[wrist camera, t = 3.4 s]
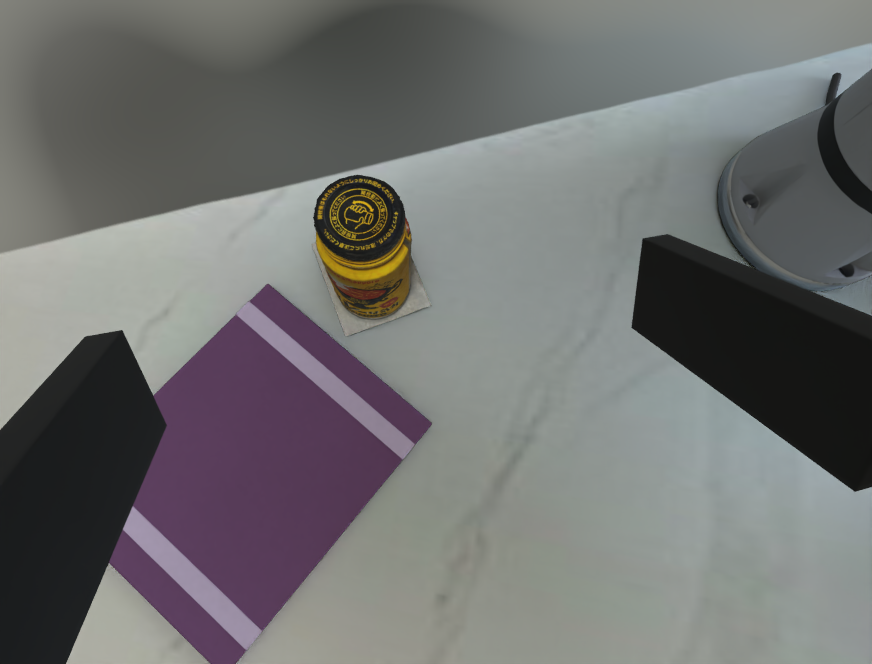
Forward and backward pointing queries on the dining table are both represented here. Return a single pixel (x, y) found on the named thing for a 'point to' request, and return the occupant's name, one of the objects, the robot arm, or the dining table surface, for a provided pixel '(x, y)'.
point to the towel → (257, 473)
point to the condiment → (366, 253)
